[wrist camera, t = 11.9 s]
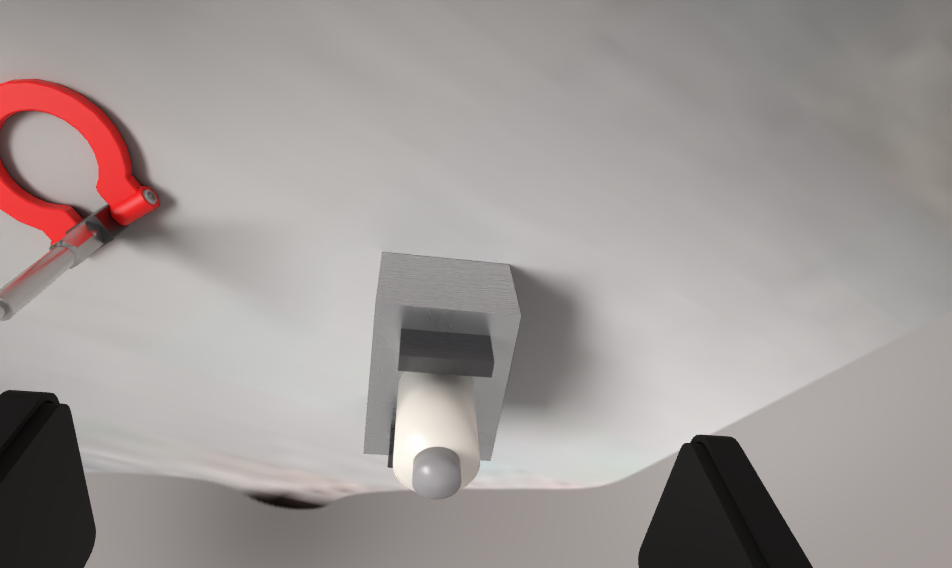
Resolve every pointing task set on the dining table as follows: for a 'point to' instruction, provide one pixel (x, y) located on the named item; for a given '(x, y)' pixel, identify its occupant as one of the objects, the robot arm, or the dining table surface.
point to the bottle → (435, 434)
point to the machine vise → (440, 337)
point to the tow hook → (62, 221)
